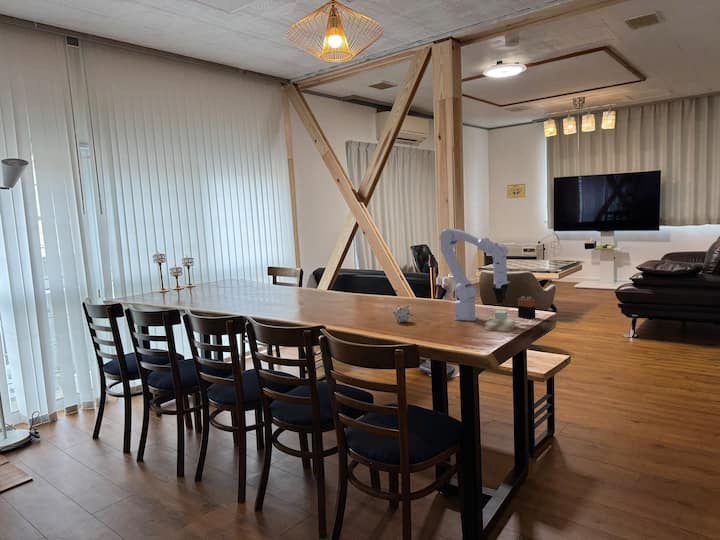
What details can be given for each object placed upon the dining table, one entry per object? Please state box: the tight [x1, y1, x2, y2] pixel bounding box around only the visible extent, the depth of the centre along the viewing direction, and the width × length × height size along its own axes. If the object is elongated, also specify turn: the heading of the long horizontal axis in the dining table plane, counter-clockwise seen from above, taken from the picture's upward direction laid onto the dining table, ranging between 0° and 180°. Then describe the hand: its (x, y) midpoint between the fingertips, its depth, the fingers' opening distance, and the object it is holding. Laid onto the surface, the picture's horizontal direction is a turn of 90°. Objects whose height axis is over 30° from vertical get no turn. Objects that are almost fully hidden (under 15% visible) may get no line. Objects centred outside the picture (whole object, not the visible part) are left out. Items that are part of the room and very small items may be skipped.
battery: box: [517, 295, 536, 320], centre depth 236 cm, size 4×7×10 cm, turn 36°
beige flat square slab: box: [484, 318, 516, 332], centre depth 219 cm, size 11×11×3 cm
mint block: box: [494, 310, 508, 320], centre depth 229 cm, size 5×5×5 cm
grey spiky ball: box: [392, 304, 414, 324], centre depth 238 cm, size 9×8×10 cm
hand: (501, 301), depth 228 cm, fingers open, 7 cm apart
